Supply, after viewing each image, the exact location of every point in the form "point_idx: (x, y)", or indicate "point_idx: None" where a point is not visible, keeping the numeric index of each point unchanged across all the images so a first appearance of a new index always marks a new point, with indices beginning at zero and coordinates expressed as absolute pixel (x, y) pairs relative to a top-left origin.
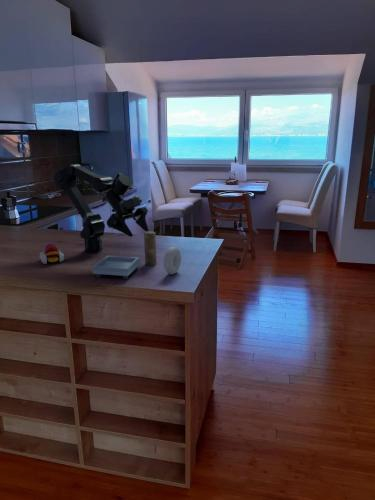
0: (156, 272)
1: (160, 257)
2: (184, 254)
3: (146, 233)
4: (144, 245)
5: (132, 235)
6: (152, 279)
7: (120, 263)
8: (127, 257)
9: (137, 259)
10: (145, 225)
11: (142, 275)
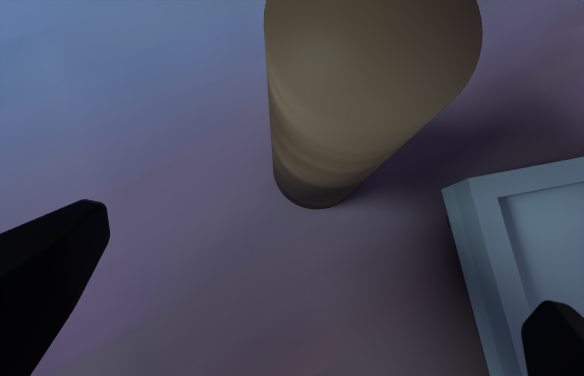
0: None
1: (142, 171)
2: (14, 34)
3: (449, 50)
4: (381, 164)
5: (555, 301)
6: (568, 27)
7: (579, 305)
8: (518, 284)
9: (523, 168)
10: (7, 275)
11: (540, 112)
